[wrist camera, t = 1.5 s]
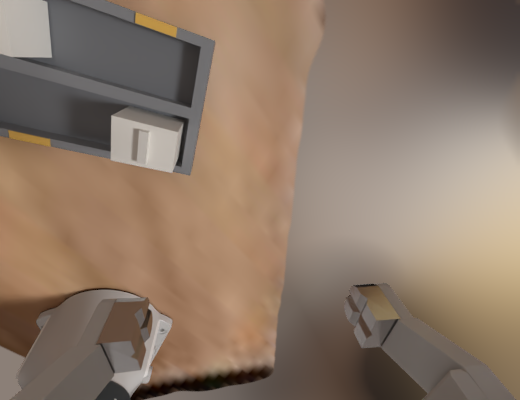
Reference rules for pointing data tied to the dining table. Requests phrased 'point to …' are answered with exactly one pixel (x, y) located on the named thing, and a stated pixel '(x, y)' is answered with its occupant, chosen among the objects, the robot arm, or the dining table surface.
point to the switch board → (104, 79)
